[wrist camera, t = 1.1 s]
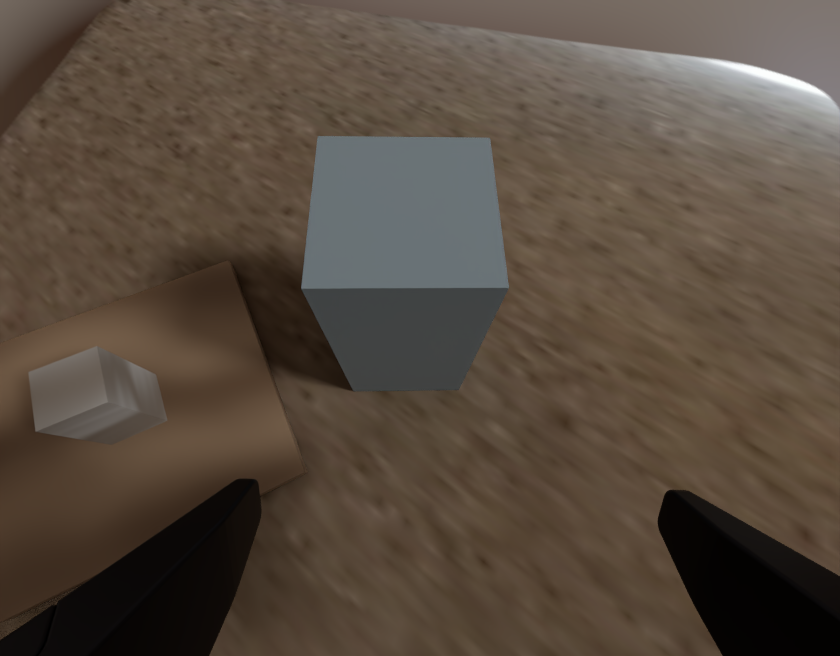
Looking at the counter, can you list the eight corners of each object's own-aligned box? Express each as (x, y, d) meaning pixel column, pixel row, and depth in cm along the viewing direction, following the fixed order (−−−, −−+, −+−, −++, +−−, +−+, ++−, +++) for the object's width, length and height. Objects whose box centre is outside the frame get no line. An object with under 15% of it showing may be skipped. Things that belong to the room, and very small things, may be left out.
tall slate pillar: (458, 389, 22) (509, 287, 11) (353, 391, 22) (301, 288, 11) (452, 296, 25) (490, 137, 14) (357, 297, 25) (318, 136, 14)
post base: (307, 472, 20) (278, 466, 16) (11, 618, 18) (-132, 663, 13) (232, 264, 25) (193, 212, 21) (-11, 354, 22) (-121, 316, 18)
